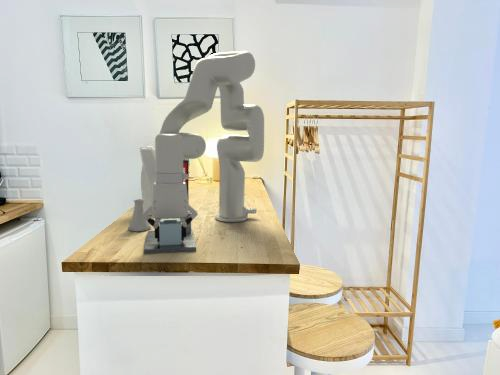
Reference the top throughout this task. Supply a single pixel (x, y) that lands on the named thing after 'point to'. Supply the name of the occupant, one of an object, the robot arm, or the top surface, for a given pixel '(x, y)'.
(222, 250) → the top surface
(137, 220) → the flask
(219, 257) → the top surface
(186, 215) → the robot arm
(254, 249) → the top surface
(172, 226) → the link
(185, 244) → the base
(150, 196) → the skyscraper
